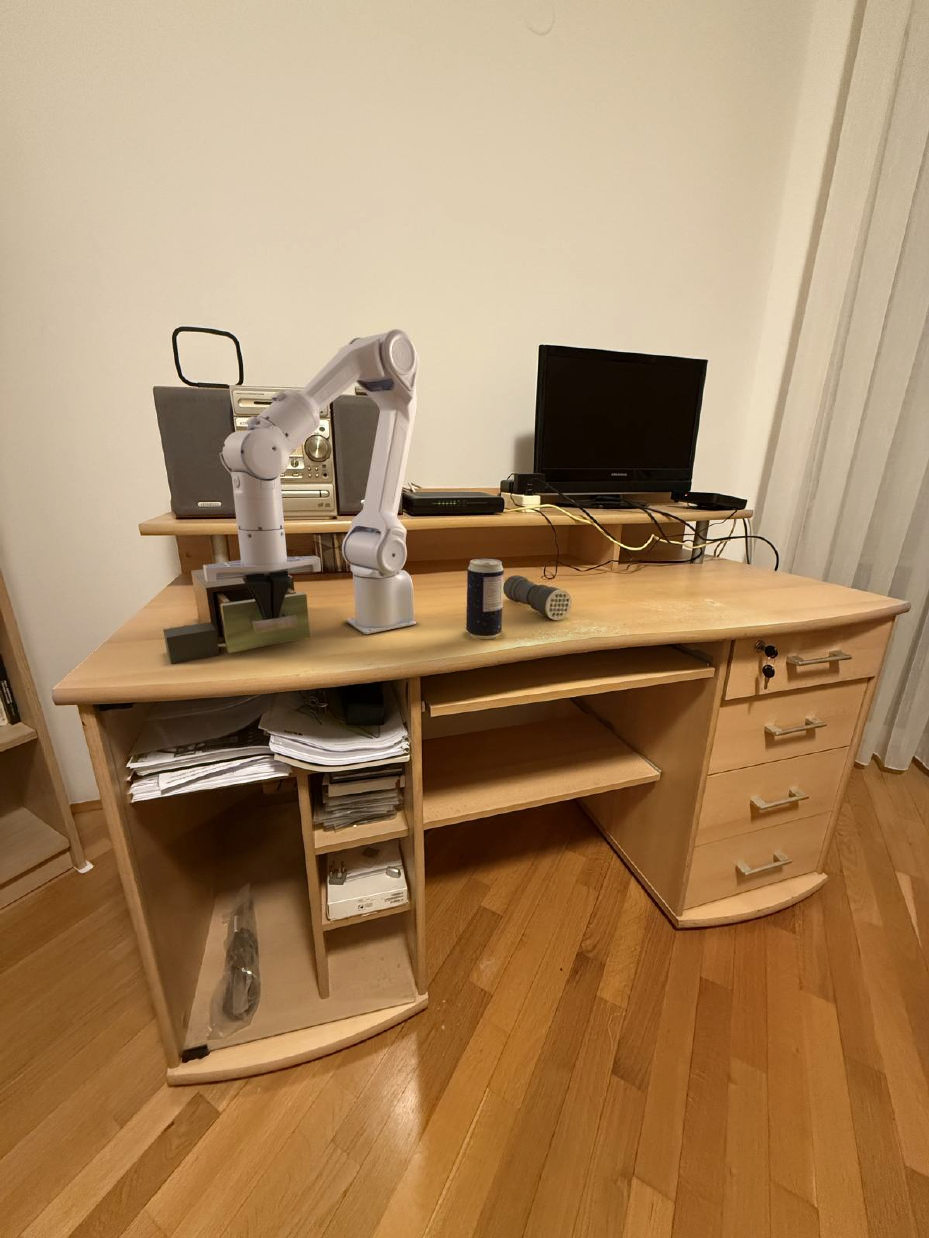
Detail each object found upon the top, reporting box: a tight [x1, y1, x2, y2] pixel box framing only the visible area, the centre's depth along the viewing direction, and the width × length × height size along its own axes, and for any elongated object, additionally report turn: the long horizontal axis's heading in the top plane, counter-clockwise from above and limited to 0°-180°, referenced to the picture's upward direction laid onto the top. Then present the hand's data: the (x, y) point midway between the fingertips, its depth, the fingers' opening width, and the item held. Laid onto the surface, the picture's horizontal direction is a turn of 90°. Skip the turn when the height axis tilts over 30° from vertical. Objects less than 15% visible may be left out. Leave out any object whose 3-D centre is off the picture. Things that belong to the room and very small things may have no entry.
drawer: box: [212, 588, 311, 654], centre depth 73 cm, size 17×11×7 cm, turn 36°
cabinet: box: [190, 568, 296, 644], centre depth 81 cm, size 14×13×9 cm
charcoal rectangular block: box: [162, 622, 220, 665], centre depth 68 cm, size 6×4×4 cm, turn 126°
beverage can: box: [465, 558, 505, 640], centre depth 77 cm, size 6×6×12 cm
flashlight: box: [503, 574, 573, 621], centre depth 93 cm, size 15×5×5 cm, turn 28°
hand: (270, 626), depth 68 cm, fingers closed, pressing on drawer
